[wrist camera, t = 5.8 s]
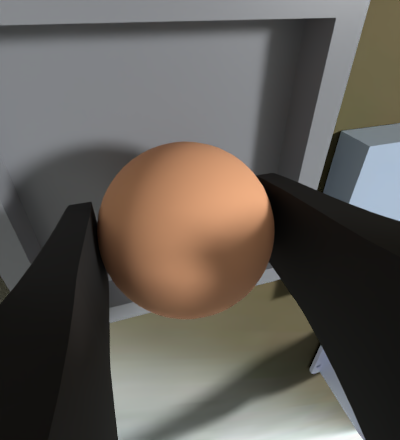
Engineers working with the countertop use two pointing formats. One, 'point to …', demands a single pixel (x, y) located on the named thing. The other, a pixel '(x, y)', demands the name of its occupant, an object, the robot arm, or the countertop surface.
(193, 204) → the ball
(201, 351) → the countertop surface
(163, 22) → the tray
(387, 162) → the dish
